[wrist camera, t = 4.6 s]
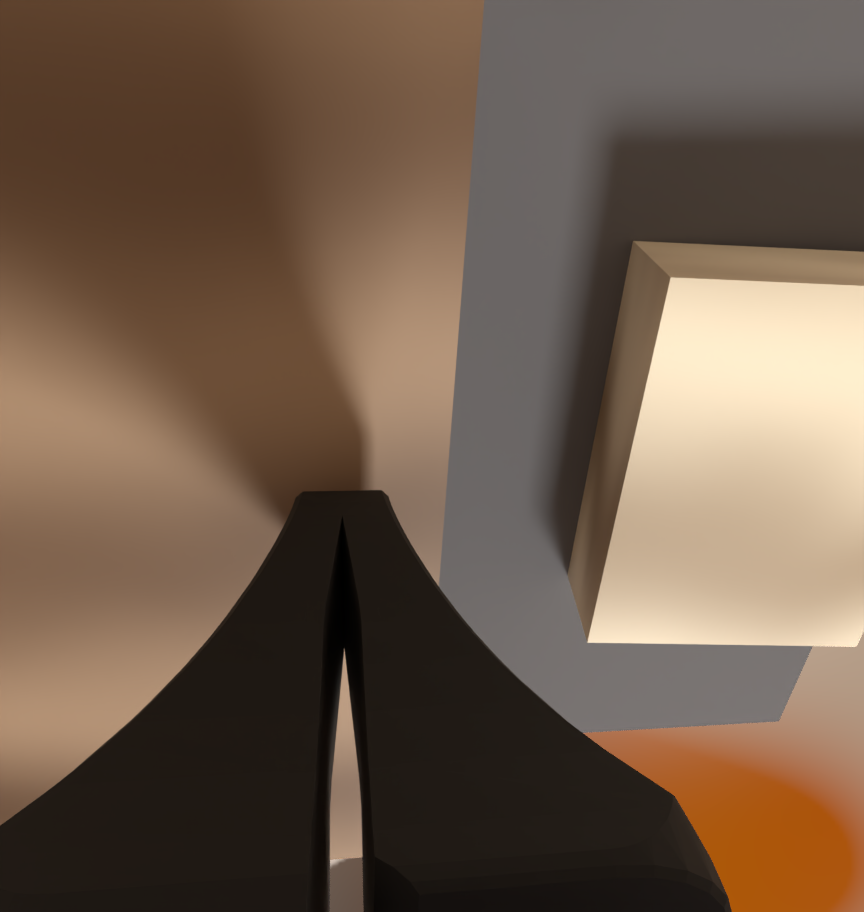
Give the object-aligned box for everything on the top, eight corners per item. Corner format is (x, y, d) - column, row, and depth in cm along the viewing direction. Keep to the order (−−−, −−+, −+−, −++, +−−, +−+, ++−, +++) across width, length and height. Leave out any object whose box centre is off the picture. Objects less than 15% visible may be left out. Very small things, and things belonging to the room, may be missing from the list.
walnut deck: (406, 730, 20) (417, 853, 17) (30, 751, 19) (-26, 886, 16) (448, -42, 11) (488, -64, 8) (-275, -96, 10) (-538, -144, 7)
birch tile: (587, 642, 16) (567, 575, 17) (856, 647, 16) (808, 579, 18) (670, 277, 11) (632, 240, 13) (1031, 293, 12) (945, 255, 14)
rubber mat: (771, 710, 22) (778, 721, 21) (424, 729, 20) (425, 741, 20) (1082, 4, 12) (1102, 4, 12) (481, -40, 11) (486, -42, 11)
